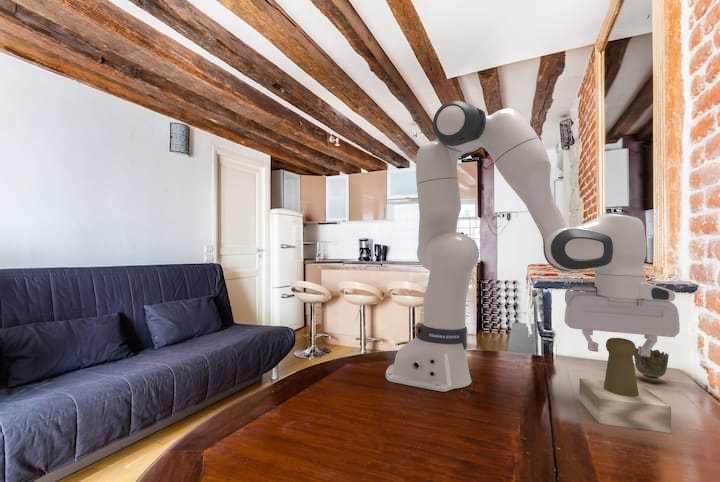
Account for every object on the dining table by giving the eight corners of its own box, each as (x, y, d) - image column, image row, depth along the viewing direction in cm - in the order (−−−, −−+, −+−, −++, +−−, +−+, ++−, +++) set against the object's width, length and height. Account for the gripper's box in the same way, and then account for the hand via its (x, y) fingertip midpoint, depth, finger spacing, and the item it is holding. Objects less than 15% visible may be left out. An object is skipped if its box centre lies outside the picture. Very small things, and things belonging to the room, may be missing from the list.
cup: (638, 383, 93) (638, 353, 93) (629, 374, 100) (629, 346, 100) (674, 388, 90) (673, 356, 91) (662, 378, 97) (661, 349, 97)
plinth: (599, 423, 70) (599, 398, 71) (579, 399, 82) (579, 378, 82) (671, 433, 67) (671, 406, 67) (639, 406, 79) (639, 384, 79)
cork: (646, 397, 71) (645, 343, 72) (613, 395, 72) (613, 341, 73) (627, 386, 77) (627, 336, 78) (597, 384, 78) (597, 334, 79)
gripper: (569, 286, 75) (568, 351, 75) (684, 293, 70) (684, 363, 70) (561, 284, 82) (559, 344, 81) (666, 290, 76) (665, 354, 76)
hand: (618, 353), depth 75 cm, fingers open, 8 cm apart
